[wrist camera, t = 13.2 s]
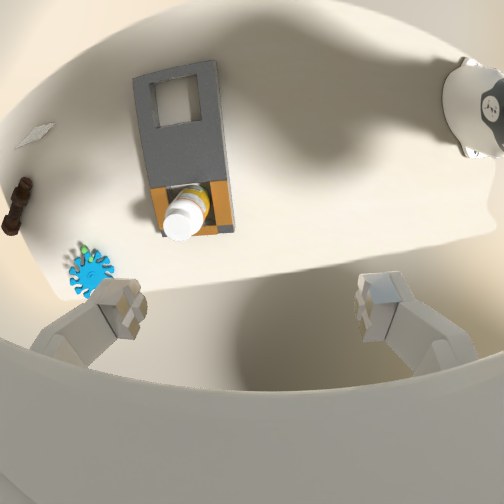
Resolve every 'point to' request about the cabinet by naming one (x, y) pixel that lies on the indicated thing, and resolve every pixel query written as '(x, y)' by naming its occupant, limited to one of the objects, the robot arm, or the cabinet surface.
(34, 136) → the stone spearhead
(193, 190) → the supplement bottle
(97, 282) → the blue lobed piece
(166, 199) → the gray and orange holder
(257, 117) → the cabinet surface
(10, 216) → the bolt
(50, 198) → the cabinet surface
